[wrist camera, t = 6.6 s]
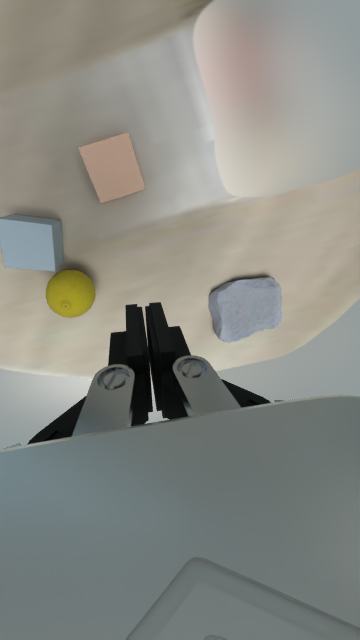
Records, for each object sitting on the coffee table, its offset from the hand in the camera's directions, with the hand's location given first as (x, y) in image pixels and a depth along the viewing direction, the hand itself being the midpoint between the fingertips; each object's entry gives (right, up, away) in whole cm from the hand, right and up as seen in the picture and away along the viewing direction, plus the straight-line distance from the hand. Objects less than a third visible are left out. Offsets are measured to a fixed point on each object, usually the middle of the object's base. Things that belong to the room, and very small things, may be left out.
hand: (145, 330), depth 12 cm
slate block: (-16, +11, +18) cm, 26 cm away
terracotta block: (-6, +18, +17) cm, 25 cm away
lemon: (-13, +6, +22) cm, 26 cm away
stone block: (+12, +4, +29) cm, 32 cm away
